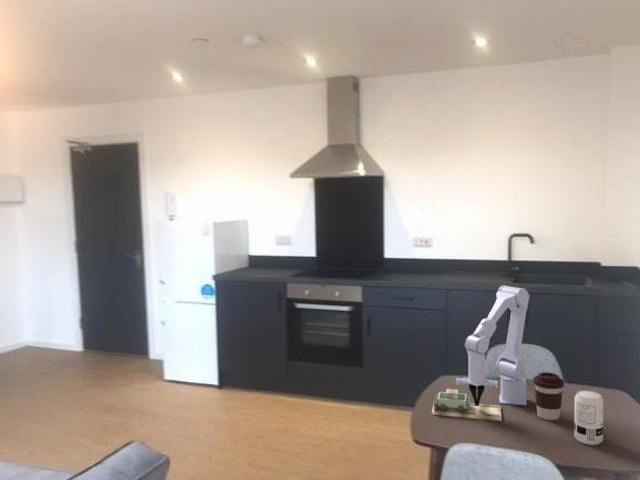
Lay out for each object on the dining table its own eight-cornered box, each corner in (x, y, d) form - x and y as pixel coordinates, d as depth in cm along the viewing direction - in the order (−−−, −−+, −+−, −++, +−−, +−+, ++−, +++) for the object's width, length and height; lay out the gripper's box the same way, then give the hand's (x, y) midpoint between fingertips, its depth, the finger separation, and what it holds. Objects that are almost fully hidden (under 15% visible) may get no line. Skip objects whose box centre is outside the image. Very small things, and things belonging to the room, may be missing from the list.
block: (457, 400, 194) (457, 389, 194) (457, 404, 191) (457, 393, 190) (446, 399, 196) (446, 388, 195) (446, 403, 192) (446, 392, 191)
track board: (500, 408, 194) (500, 397, 193) (501, 420, 183) (501, 409, 183) (434, 402, 201) (434, 392, 200) (431, 414, 190) (431, 403, 190)
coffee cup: (550, 424, 179) (550, 382, 178) (527, 414, 188) (527, 373, 187) (569, 418, 184) (570, 376, 182) (546, 408, 192) (546, 368, 191)
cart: (469, 402, 196) (469, 393, 196) (469, 412, 187) (469, 402, 187) (439, 400, 199) (439, 390, 199) (437, 410, 190) (437, 400, 190)
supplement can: (568, 435, 171) (569, 390, 170) (592, 433, 172) (593, 389, 171) (583, 446, 163) (584, 400, 162) (608, 445, 164) (609, 398, 163)
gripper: (455, 370, 188) (455, 407, 189) (498, 373, 184) (498, 410, 185) (456, 364, 195) (456, 399, 196) (497, 367, 190) (497, 403, 191)
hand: (476, 404), depth 191 cm, fingers closed
